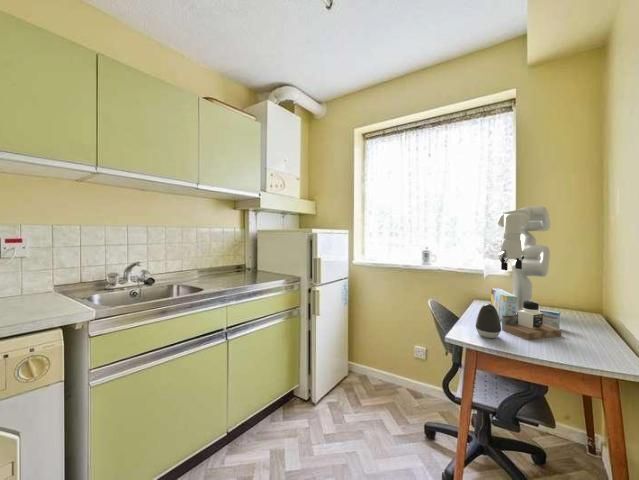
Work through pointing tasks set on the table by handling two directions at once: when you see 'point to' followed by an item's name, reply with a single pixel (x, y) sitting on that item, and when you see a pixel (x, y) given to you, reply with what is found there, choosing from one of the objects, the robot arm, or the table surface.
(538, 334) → the brown piece
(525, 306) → the medicine bottle
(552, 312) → the medicine box
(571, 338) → the table surface
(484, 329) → the dark egg-shaped spouted container
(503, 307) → the snack box
